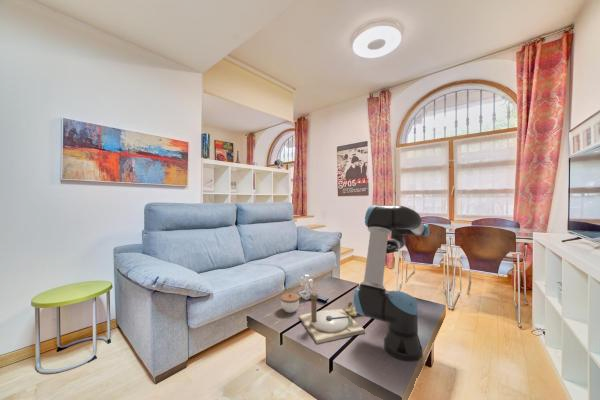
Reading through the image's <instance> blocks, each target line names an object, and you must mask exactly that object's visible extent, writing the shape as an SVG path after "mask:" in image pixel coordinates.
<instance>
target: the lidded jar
mask: <svg viewBox="0 0 600 400" xmlns="http://www.w3.org/2000/svg"><path fill="white" fill-rule="evenodd" d="M280 304H281V307H282V309H283V310H284V312H285V313H288V314H290V313H291V314H292V313H294V312H295V311H297V309H298V308H299V304H300V294H296V293H292V292H291V293H290V292H289V293H284V294H282V295H280Z"/></svg>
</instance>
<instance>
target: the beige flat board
mask: <svg viewBox="0 0 600 400" xmlns="http://www.w3.org/2000/svg"><path fill="white" fill-rule="evenodd" d="M329 310H330V311H336V312H339V313H342V314H343V315H345V316H349V314H347V313H345V311H344V310H343V309H342V308H341V307H338V308H331V309H329ZM298 318H299V321H301V323H302V324H303V326H304V327H305V329H306V330H307V331H308V333H309V334H310V335H311V337H312V338H313V340H314V342H315V343H316V344H322V343H326V342H331V341H334V340H340V339H343V338H348V337H352V336H357V335H361V334H364V333H366V331H365V330H366V329H364V328H363V327H362V326H361V325H360V324H359V323H358V322H357V321H355V319H353V317H352V318H351V317H348V318H347V319H348V326H347V327H346V328H345V329H344V330H342V331H338V332H324V331H321V330H318V329H316V328H315V327H313V326H312V324H311V312H309V313H303V314H299V317H298Z"/></svg>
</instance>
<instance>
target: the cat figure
mask: <svg viewBox="0 0 600 400" xmlns="http://www.w3.org/2000/svg"><path fill="white" fill-rule="evenodd" d="M352 305H353V302H352V301H349V302H348V304H347V308H348V309H345V311H344V312H345V313H347V314H348V315H349V316H350V317H351V318H352V319H353V317H356V316H357V315H358V313H357V312H356V310H355V306H353V307H352Z"/></svg>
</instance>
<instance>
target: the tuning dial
mask: <svg viewBox="0 0 600 400" xmlns="http://www.w3.org/2000/svg"><path fill="white" fill-rule="evenodd" d="M318 296H319V294H318V293H316V292H314V293H311V294H310V299H309V300H310V302H311V309H310V310H311V312H310V313H311V324H312V326H313V327H315V328H316V329H318V330H321V331H324V332H338V331H342V330H344V329H345V328H346V327H347V326H348V319H347V318H348V317H350V316H345V315H343V314H342V313H339V312H336V311H330V309H326V310H318V311H317V308H318V306H317V304H318V303H317V302H318V301H317V300H318V299H319V297H318Z"/></svg>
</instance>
